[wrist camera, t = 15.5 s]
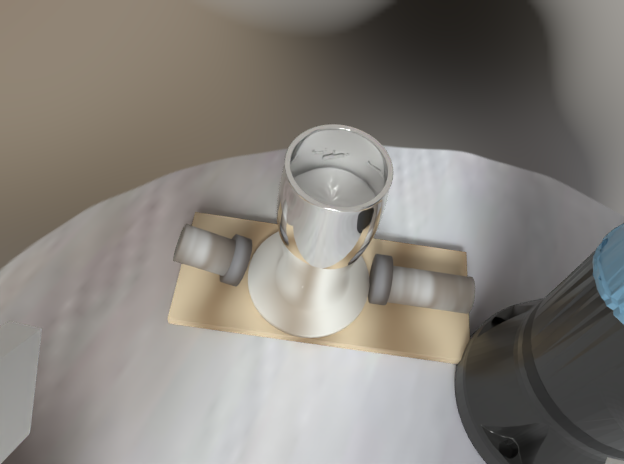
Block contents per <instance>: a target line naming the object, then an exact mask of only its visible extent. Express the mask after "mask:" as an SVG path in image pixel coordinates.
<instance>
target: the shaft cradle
mask: <svg viewBox="0 0 624 464" xmlns="http://www.w3.org/2000/svg"><path fill="white" fill-rule="evenodd" d="M282 255H283V249H282V244H281V240H280V235H279V230H278V224H273V223H266V222H259V221H252V220H246V219H239V218H232V217H225V216H218V215H212V214H205V213H198V212H195V215H194V219H193V223H192V226H191V225H188V224H186V225H185V226H184V228H183V230H182V232H181V234H180V237H179V240H178V243H177V246H176V249H175V253H174V258H173V261H176V262H179V263H182V265H181V269H180V273H179V276H178V280H177V284H176V288H175V292H174V296H173V299H172V303H171V307H170V311H169V315H168V322H169V323H170V324H177V325H184V326H191V327H198V328H205V329H212V330H219V331H226V332H233V333H240V334H247V335H255V336H262V337H269V338H276V339H283V340H290V341H297V342H304V343H311V344H318V345H325V346H332V347H339V348H347V349H354V350H361V351H368V352H375V353H382V354H389V355H396V356H403V357H410V358H417V359H424V360H431V361H439V362H446V363H453V364H458V363H459V362H460V361H461V359H462V356H463V353H464V350H465V348H466V346H467V344H468V342H469V340H470V330H469V312H470V311H471V309H472V306H473V303H474V298H475V283H474V279H473V278H472V277H467V257H466V252H462V251H455V250H448V249H441V248H435V247H428V246H421V245H414V244H408V243H401V242H394V241H387V240H381V239H374V238H373V239H372V241H371V242H370V244H369V245H368V247H367V248H366V250H365V251H364V252H363V254H362V255H361V256H360V257H359V259H358V260H357V261H356V262H355V263H354V265H353V266H352V267H351V268H350V284H349V288H348V291H347V294H346V295H345V297H344V298H343V299H342V301H341V302H340V303H338V304H337V305H336V306H334V307H333V308H331V309H329V310H326V311H322V312H307V311H303V310H300V309H297V308H295V307H293V306H292V305H290V304H289V303H288V302H287V301H286V300H285V299H284V298H283V297H282V295H281V294H280V292H279V290H278V288H277V285H276V279H275V274H276V268H277V265H278V263H279V261H280V259H281V257H282Z"/></svg>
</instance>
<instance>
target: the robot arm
mask: <svg viewBox="0 0 624 464" xmlns="http://www.w3.org/2000/svg"><path fill="white" fill-rule="evenodd" d="M41 332H42V328H39V327H34V326H30V325H26V324H21V323H17V322H13V321H8V322H7V323H5V324H4V325H2V326H0V464H1V463H2V462H3V461H4V460H5V459H6V458H7V457H8V456H9V455H10V454H11V453H12V452H13V451H14V450H15V449H16V448H17V447H18V445H19V444H20V443H21V442H22V441H23V440H24V439H25V438H26V437H27V436H28V435H29V434H30V429H31V421H32V412H33V403H34V394H35V385H36V376H37V368H38V359H39V350H40V341H41ZM455 393H456V401H457V406H458V411H459V414H460V418H461V421H462V423H463V426H464V428H465V431H466V433H467V435H468V437H469V439H470V441H471V442H472V444H473V446H474V447H475V449H476V450H477V452H478V453H479V455H480V456H481V457H482V458H483V460H484V461H485V462H486V463H487V464H624V223H623V224H622V225H620V226H618V227H616V228H615V229H613V230H612V231H611V232H610V233H608V234H607V235H606V236H605V237H604V238H603V241H602V243H601V244H600V245H599V246H598V247H597V249H596V250H595V251H594V252H593V253H592V254H591V255H590V256H589V257H588V258H587V259H586V260H585V261H584V262H583V263H582V264H581V265H580V266H578V267H577V268H576V269H575V270H574V271H573V272H572V273H571V274H570V275H569V276H568V277H567V278H566V279H565V280H564V281H563V282H561V283H560V284H559V285H558V286H557V287H556V288H555V289H554V290H553V291H552V292H551V293H550V294H549V295H548V296H547V297H545V298H542V299H538V300H534V301H529V302H525V303H520V304H516V305H513V306H510V307H508V308H505V309H503V310H501V311H500V312H498V313H496V314H494V315H493V316H492V317H490V318H489V319H488V320H487V321H485V322H484V323H483V324H482V325H481V326H480V328H479V329H478V330H477V331H476V332H475V333H474V334H473V335H472V336H471V337H470V340H469V342H468V344H467V346H466V348H465V350H464V353H463V356H462V359H461V361H460V362H459V363H458V365H457V370H456V378H455Z"/></svg>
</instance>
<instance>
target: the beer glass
mask: <svg viewBox="0 0 624 464" xmlns="http://www.w3.org/2000/svg"><path fill="white" fill-rule="evenodd" d="M392 180H393V166H392V162H391V159H390V157H389V155H388V153H387V151H386V150H385V148H384V147H383V146H382V145H381V144H380V143H379V142H378V141H377V140H376V139H375V138H374V137H372V136H370V135H369V134H368V133H366V132H364V131H362V130H359V129H357V128H354V127H350V126H346V125H339V124H328V125H322V126H317V127H313V128H311V129H309V130H306V131H305V132H303V133H301V134H300V135H299V136H297V138H295V139H294V141H293V142H292V143H291V145H290V146H289V148H288V150H287V152H286V156H285V163H284V167H283V171H282V175H281V180H280V184H279V191H278V198H277V222H278V230H279V235H280V240H281V244H282V249H283V255H282V257H281V259H280V261H279V263H278V265H277V268H276V274H275V279H276V285H277V288H278V290H279V292H280V294H281V295H282V297H283V298H284V299H285V300H286V301H287V302H288V303H289V304H290V305H292V306H293V307H295V308H297V309H300V310H303V311H307V312H322V311H326V310H329V309H331V308H333V307H334V306H336V305H337V304H338V303H340V302H341V301H342V299H343V298H344V297H345V295H346V294H347V291H348V288H349V284H350V268H351V267H352V266H353V265H354V263H355V262H356V261H357V260H358V259H359V257H360V256H361V255H362V254H363V252H364V251H365V250H366V248H367V247H368V245H369V244H370V242H371V241H372V239H373V237H374V235H375V233H376V231H377V229H378V227H379V224H380V222H381V219H382V216H383V213H384V210H385V206H386V202H387V198H388V193H389V189H390V186H391V184H392Z"/></svg>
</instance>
